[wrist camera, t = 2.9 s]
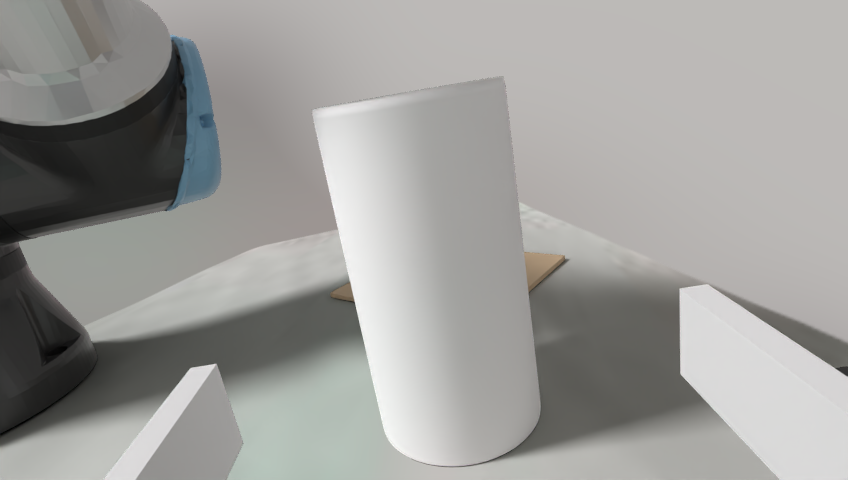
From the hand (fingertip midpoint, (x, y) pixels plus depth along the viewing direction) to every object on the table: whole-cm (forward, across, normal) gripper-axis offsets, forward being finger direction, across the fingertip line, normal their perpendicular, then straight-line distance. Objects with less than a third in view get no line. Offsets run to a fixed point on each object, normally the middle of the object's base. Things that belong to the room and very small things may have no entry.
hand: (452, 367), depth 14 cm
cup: (+10, 0, -9) cm, 13 cm away
